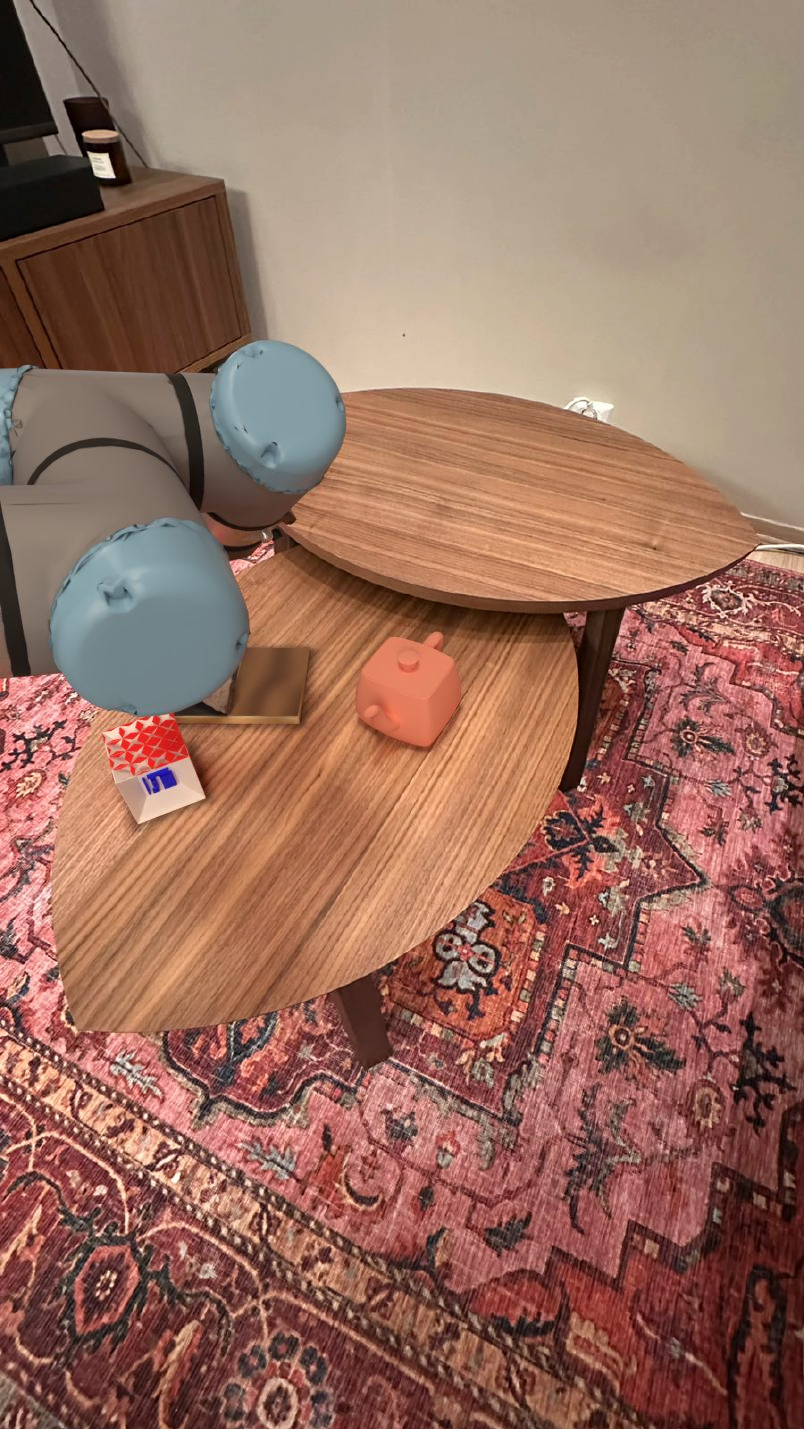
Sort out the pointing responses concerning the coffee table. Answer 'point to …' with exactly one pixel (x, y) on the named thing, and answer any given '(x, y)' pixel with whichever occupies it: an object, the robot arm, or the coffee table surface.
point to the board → (260, 690)
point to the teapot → (409, 689)
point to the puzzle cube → (152, 766)
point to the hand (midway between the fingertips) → (183, 570)
